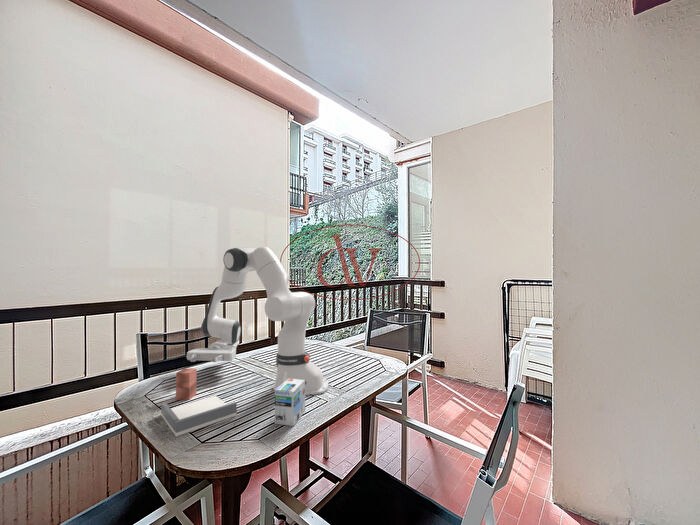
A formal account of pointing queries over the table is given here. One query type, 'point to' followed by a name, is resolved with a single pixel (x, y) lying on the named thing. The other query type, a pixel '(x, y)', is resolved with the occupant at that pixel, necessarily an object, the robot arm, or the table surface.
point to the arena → (197, 414)
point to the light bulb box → (289, 402)
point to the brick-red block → (186, 384)
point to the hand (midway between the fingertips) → (203, 360)
